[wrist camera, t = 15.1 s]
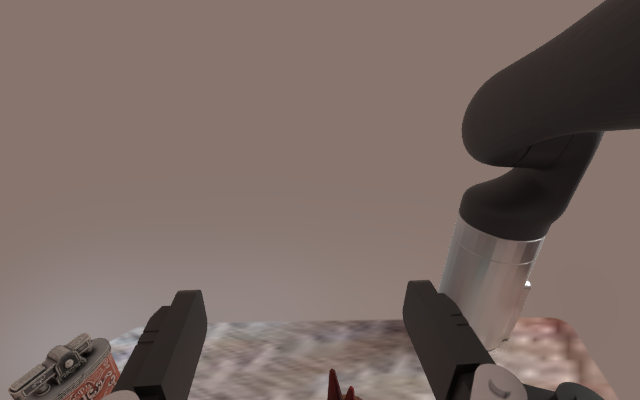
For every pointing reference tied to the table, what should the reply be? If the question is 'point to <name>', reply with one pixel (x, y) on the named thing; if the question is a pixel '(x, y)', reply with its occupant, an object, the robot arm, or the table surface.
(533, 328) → the table surface
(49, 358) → the lighter
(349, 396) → the wooden figurine
